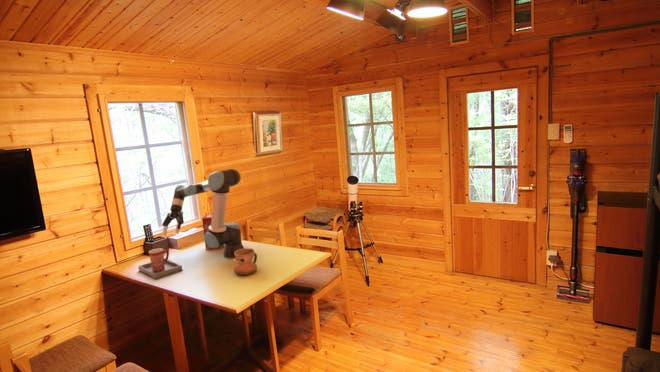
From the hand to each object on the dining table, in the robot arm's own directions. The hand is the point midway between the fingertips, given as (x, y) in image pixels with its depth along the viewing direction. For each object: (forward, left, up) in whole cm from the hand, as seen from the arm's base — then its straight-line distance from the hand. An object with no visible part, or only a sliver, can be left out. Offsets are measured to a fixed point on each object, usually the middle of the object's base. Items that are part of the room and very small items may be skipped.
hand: (170, 234), depth 277 cm
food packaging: (+1, -34, -20) cm, 39 cm away
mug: (-10, +14, -19) cm, 25 cm away
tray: (-10, +14, -19) cm, 26 cm away
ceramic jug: (-61, -18, -20) cm, 67 cm away
